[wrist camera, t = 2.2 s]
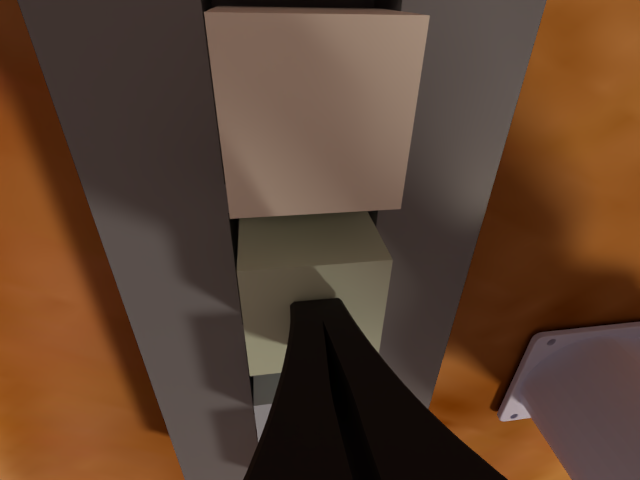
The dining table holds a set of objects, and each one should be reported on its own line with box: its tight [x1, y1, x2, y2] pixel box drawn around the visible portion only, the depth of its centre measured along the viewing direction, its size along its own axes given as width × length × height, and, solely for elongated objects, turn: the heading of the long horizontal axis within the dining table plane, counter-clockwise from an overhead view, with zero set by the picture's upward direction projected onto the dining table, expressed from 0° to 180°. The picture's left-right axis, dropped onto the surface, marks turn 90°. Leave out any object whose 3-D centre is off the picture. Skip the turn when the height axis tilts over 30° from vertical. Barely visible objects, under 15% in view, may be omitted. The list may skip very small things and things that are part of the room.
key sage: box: [237, 211, 393, 376], centre depth 12 cm, size 4×4×3 cm
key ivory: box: [204, 6, 430, 219], centre depth 9 cm, size 4×4×3 cm
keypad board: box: [17, 0, 546, 480], centre depth 16 cm, size 12×24×3 cm, turn 179°
